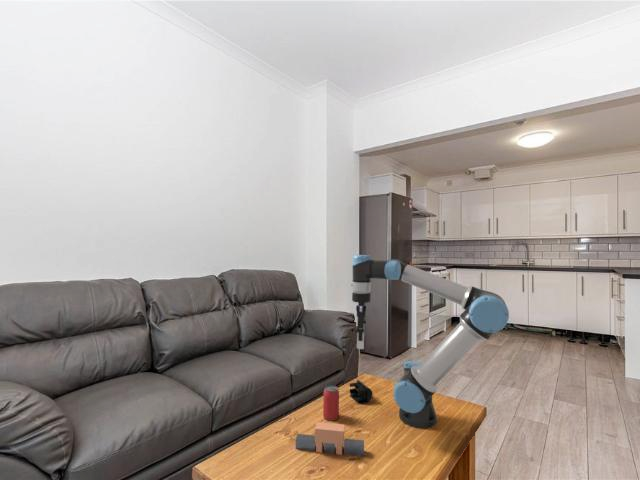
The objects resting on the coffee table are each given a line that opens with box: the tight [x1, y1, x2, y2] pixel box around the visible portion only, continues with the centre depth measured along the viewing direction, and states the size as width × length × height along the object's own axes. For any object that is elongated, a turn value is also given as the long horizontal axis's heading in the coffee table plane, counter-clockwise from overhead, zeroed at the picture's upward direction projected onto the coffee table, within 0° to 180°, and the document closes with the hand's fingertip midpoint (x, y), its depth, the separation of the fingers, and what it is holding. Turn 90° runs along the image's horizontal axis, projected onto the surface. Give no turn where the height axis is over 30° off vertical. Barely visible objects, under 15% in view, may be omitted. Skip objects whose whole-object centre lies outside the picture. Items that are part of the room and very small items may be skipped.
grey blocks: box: [295, 433, 365, 457], centre depth 116 cm, size 24×3×4 cm, turn 82°
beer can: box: [322, 385, 340, 421], centre depth 138 cm, size 7×7×12 cm
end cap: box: [349, 380, 373, 405], centre depth 155 cm, size 10×7×7 cm
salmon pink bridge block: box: [314, 421, 346, 456], centre depth 116 cm, size 10×4×8 cm, turn 82°
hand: (360, 343), depth 136 cm, fingers open, 13 cm apart
